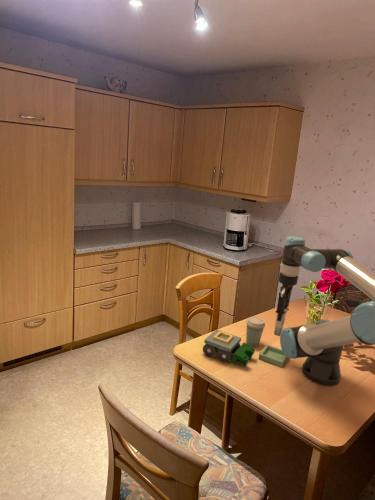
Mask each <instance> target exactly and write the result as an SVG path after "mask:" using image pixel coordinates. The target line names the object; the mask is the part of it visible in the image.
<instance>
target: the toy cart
mask: <svg viewBox="0 0 375 500" xmlns="http://www.w3.org/2000/svg"><path fill="white" fill-rule="evenodd" d="M241 341H242V337H240V336H237V335H234V334H231V333H229V332H225V331H223V330H220V329H215V330H214V331H213V332H212V333H210V334H209V335H208V336H207V337H206V338H204V341H203V343H204V345H203V346H202V352H203V354H204V355H205V356H206V357H208V358H213V357H215V356H216V355H217V358H218V360H219V361H220V362H222V363H223V364H228V363H229V362H230V361H231V359H232V357H233V355H234V353H235V352H236V351H237V349H238V348H239V347H240V346H241V344H240V343H241Z"/></svg>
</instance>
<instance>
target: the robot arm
mask: <svg viewBox="0 0 375 500" xmlns="http://www.w3.org/2000/svg"><path fill="white" fill-rule="evenodd" d="M305 244H306V240H305V238H303V237H300V236H295V235H292V236H291V235H289V236H287V237H286V239H285V243H284V245H283V252H282V258H281V263H279V266H280V270H279V271H280V272H279V273H278V274H279V275H278V282H279V283H280V284H282V286H280V289H279V292H278V299H277V306H276V310H275V313H276V318H275V322H274V328H275V327H278V328H282V323H283V318H284V309H285V308H287V309H288V310H287V311H289V310H290V308H289V307H290V300H291V296H292V295H291V294H292V291H293V287H294V286H296V285H298V280H299V275H300V271H301V270H300V269H301V268H303V269H305V270H307V271H309V272H312V273H318V272H320V271H322V270H323V269H326V270H329V269H332V270H333V271H334V272H336V273H337V274H339V275H340V276H341V277H342V278H344V279H345V280H346V281H348V282H349V283H350V284H352V285H353V286H354V287H355V288H357V289H358V290H359V291H361V292H362V293H363V294H364V295H366V296H367V297H368V298H370V299H371V300H370V301H366V302H363V303H360V304H358V305H357V306H356V307H355V309H354V310H352V312H351V313H350V315H347V316H343V317H340V318H337V319H333V320H328V319H323V318H322V319H317V320H316V322H315V324H313V323H305V324H301V325H299V326H292V327H290V326H288V327H285V328H284V327H283V330H282V332H281V335H280V336H279V342H280V343H279V344H280V349H282V351H283V353H284V355H285V356H286V357H288V359H294V360H295V359H298V358H299V359H301V358H302V359H303V358H306V359H305V360H304V362H303V364H302V367H301V373H302V374H303V376H304V377H306V378H307V380H309V381H311V382H313V383H315V384H317V385H321V386H326V387H332V386H336V385H339V383H340V381H341V376H342V375H341V366H340V360H341V358H342V357H341V356H342V354H343V353H342V352H343V350H344V349H343V348H344V346H346V345H351V344H356V343H360V344H363V345H366V346H373V345H375V273H374V272H373V271H371V270H370V269H368V268H367V267H365V266H364V265H362V264H361V263H359V262H358V261H357V260H355V259H354V258H353V257H354V256H353V254H352V253H351V251H350V250H348V249H342V248H334V249H331V248H329V249H328V248H320V249H319V248H309V247H307V246H306V245H305ZM286 315H287V313H286V314H285V319H284V323H285V321H286Z"/></svg>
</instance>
